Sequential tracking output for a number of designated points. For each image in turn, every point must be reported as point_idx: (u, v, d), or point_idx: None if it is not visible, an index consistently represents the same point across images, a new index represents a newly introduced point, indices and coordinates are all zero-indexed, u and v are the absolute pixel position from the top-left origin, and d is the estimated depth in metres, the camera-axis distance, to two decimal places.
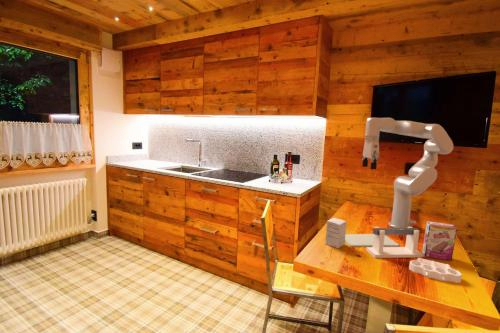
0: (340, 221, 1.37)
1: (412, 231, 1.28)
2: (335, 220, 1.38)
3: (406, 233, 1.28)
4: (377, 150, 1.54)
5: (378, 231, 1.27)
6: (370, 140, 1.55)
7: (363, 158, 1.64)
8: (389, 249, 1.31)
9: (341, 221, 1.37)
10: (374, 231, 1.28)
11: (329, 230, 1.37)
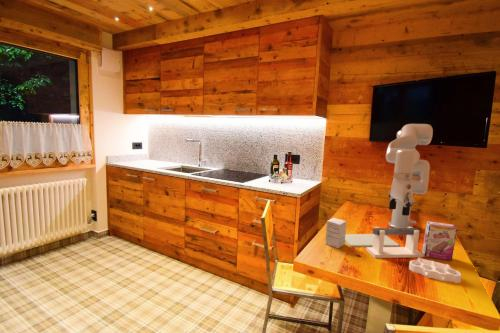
0: (340, 221, 1.37)
1: (412, 231, 1.28)
2: (335, 220, 1.38)
3: (406, 233, 1.28)
4: (411, 191, 1.21)
5: (378, 231, 1.27)
6: (402, 178, 1.22)
7: (390, 199, 1.31)
8: (389, 249, 1.31)
9: (341, 221, 1.37)
10: (374, 231, 1.28)
11: (329, 230, 1.37)
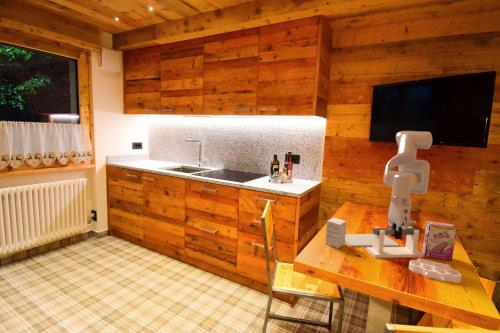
0: (340, 221, 1.37)
1: (412, 231, 1.28)
2: (335, 220, 1.38)
3: (406, 233, 1.28)
4: (408, 216, 1.23)
5: (378, 231, 1.27)
6: (399, 203, 1.24)
7: (391, 225, 1.30)
8: (389, 249, 1.31)
9: (341, 221, 1.37)
10: (374, 231, 1.28)
11: (329, 230, 1.37)
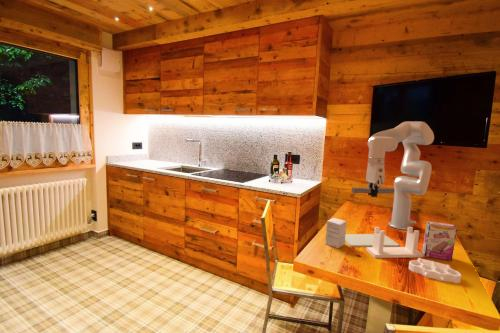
0: (340, 221, 1.37)
1: (387, 190, 1.40)
2: (335, 220, 1.38)
3: (382, 192, 1.40)
4: (382, 174, 1.35)
5: (356, 189, 1.39)
6: (374, 163, 1.36)
7: (369, 185, 1.42)
8: (389, 249, 1.31)
9: (341, 221, 1.37)
10: (352, 190, 1.40)
11: (329, 230, 1.37)
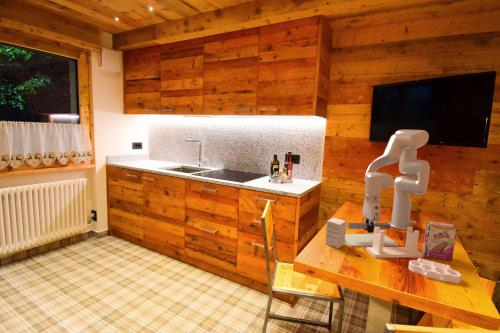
0: (340, 221, 1.37)
1: (383, 225, 1.43)
2: (335, 220, 1.38)
3: None
4: (378, 212, 1.38)
5: (352, 225, 1.42)
6: (370, 200, 1.38)
7: (365, 220, 1.45)
8: (389, 249, 1.31)
9: (341, 221, 1.37)
10: (349, 225, 1.43)
11: (329, 230, 1.37)
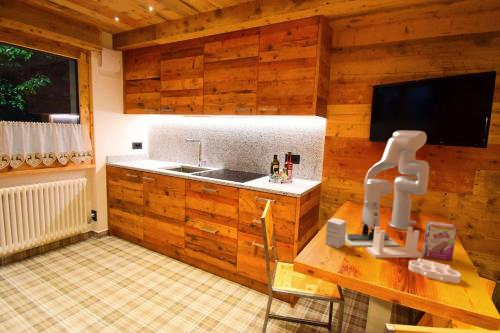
0: (340, 221, 1.37)
1: None
2: (335, 220, 1.38)
3: None
4: (378, 218, 1.38)
5: (351, 237, 1.43)
6: (370, 207, 1.39)
7: (363, 225, 1.47)
8: (389, 249, 1.31)
9: (341, 221, 1.37)
10: (348, 237, 1.44)
11: (329, 230, 1.37)
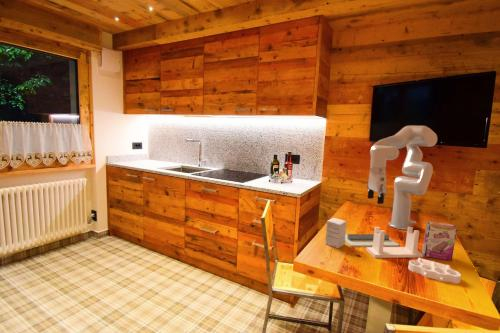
0: (340, 221, 1.37)
1: None
2: (335, 220, 1.38)
3: None
4: (384, 183, 1.40)
5: (351, 237, 1.43)
6: (376, 172, 1.41)
7: (368, 189, 1.51)
8: (389, 249, 1.31)
9: (341, 221, 1.37)
10: (348, 237, 1.44)
11: (329, 230, 1.37)
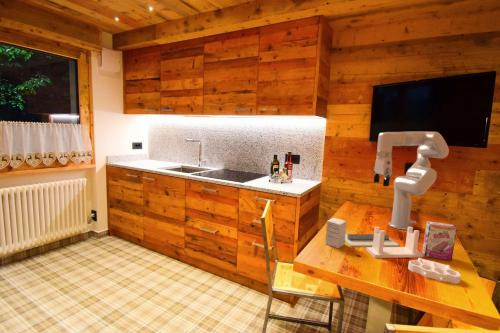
0: (340, 221, 1.37)
1: None
2: (335, 220, 1.38)
3: None
4: (390, 166, 1.48)
5: (351, 237, 1.43)
6: (383, 156, 1.49)
7: (374, 174, 1.59)
8: (389, 249, 1.31)
9: (341, 221, 1.37)
10: (348, 237, 1.44)
11: (329, 230, 1.37)
